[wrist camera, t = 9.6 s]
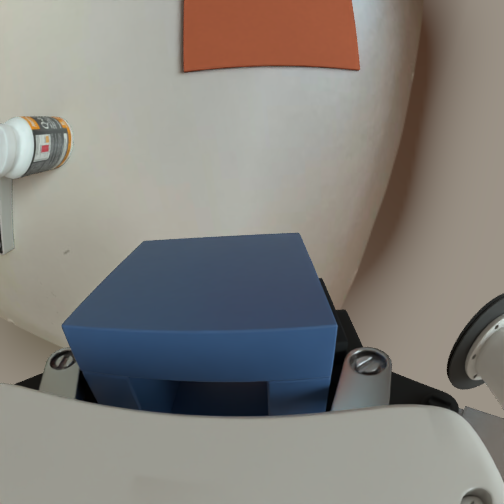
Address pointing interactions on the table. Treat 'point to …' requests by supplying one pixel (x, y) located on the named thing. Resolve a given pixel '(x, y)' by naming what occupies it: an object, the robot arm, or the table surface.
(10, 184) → the multiport hub
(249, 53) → the mat
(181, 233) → the table surface
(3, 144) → the pill bottle
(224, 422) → the robot arm
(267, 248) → the blue block
